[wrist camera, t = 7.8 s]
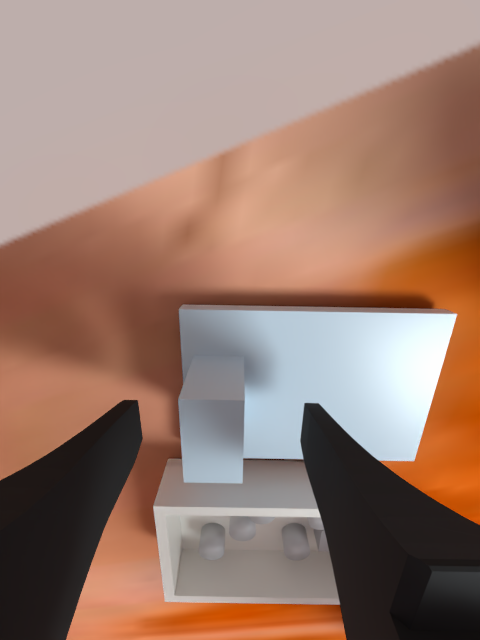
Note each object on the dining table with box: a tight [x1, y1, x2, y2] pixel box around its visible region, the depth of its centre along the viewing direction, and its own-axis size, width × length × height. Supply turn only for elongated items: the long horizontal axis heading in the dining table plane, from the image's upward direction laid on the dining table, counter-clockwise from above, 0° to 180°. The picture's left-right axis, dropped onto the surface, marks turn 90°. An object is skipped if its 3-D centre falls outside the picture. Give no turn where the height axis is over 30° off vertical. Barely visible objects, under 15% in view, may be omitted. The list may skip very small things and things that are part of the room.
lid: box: [178, 304, 457, 483], centre depth 13 cm, size 9×13×4 cm
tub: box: [153, 459, 340, 605], centre depth 17 cm, size 8×12×3 cm, turn 89°
